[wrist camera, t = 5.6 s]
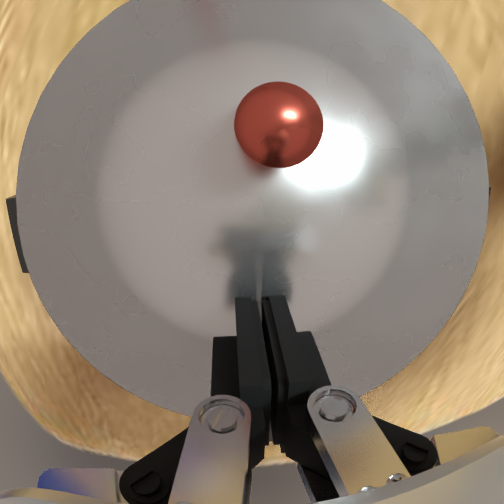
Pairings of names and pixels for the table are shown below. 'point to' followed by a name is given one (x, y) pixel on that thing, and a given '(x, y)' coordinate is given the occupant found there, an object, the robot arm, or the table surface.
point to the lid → (251, 188)
